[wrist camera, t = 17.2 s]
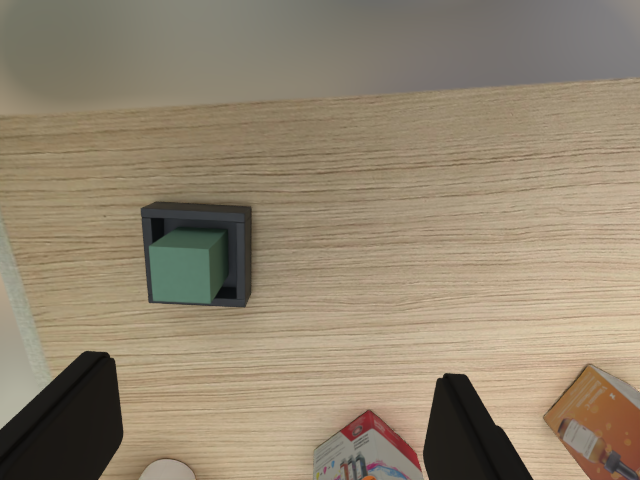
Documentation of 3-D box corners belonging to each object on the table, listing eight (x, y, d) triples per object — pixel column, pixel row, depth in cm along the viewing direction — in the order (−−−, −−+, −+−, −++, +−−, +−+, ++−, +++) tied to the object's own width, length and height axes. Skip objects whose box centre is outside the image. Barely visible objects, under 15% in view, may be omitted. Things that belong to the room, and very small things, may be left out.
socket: (155, 201, 33) (140, 208, 30) (251, 206, 33) (245, 213, 30) (162, 289, 35) (148, 303, 32) (251, 293, 35) (245, 307, 32)
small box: (588, 362, 38) (686, 446, 28) (629, 383, 38) (740, 472, 28) (540, 418, 40) (616, 516, 30) (580, 437, 40) (668, 539, 30)
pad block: (178, 226, 33) (148, 246, 27) (228, 229, 33) (208, 249, 27) (180, 272, 34) (152, 301, 28) (228, 275, 34) (210, 303, 28)
